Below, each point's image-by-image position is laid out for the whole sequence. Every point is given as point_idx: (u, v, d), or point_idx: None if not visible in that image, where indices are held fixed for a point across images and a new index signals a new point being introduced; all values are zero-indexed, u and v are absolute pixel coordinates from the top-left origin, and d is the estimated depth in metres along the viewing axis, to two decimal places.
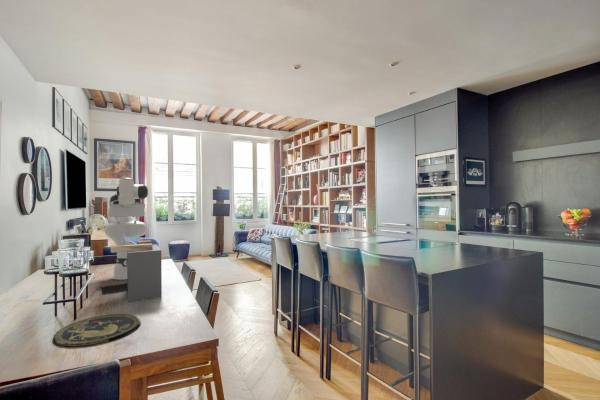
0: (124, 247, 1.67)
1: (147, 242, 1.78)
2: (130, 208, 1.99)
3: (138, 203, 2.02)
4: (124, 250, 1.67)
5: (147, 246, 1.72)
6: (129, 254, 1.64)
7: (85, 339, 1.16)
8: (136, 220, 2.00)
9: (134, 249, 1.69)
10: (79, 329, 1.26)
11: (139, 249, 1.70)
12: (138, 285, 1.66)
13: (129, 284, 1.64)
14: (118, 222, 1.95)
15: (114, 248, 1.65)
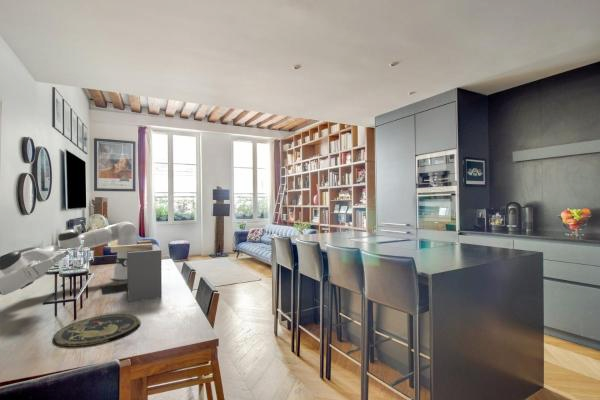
0: (124, 247, 1.67)
1: (147, 242, 1.78)
2: None
3: None
4: (124, 250, 1.67)
5: (147, 246, 1.72)
6: (129, 254, 1.64)
7: (85, 339, 1.16)
8: None
9: (134, 249, 1.69)
10: (79, 329, 1.26)
11: (139, 249, 1.70)
12: (138, 285, 1.66)
13: (129, 284, 1.64)
14: (61, 254, 1.52)
15: (114, 248, 1.65)
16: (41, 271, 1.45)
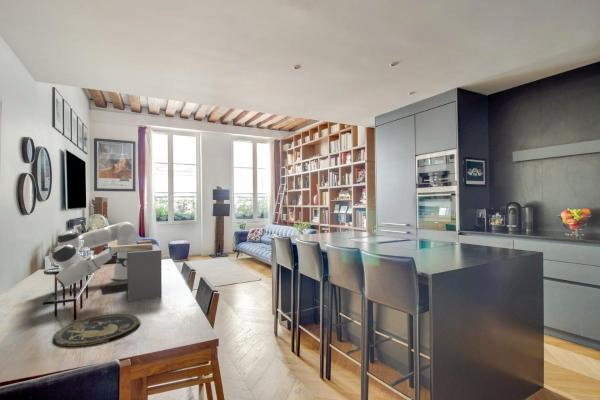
0: (124, 247, 1.67)
1: (147, 242, 1.78)
2: (98, 255, 1.64)
3: None
4: (124, 250, 1.67)
5: (147, 246, 1.72)
6: (129, 254, 1.64)
7: (85, 339, 1.16)
8: None
9: (134, 249, 1.69)
10: (79, 329, 1.26)
11: (139, 249, 1.70)
12: (138, 285, 1.66)
13: (129, 284, 1.64)
14: None
15: (114, 248, 1.65)
16: (100, 264, 1.55)
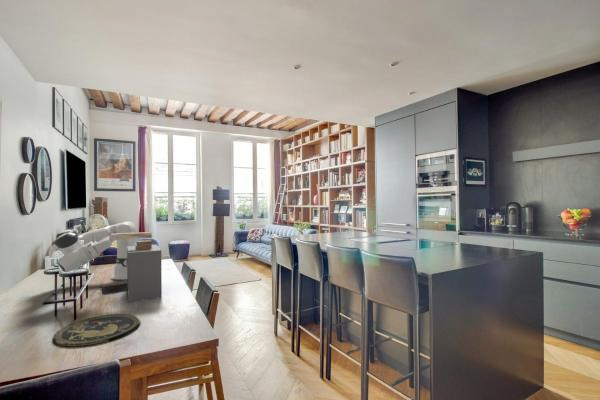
0: (124, 235, 1.72)
1: (147, 242, 1.78)
2: (99, 242, 1.69)
3: None
4: (124, 238, 1.72)
5: (146, 234, 1.77)
6: (129, 254, 1.64)
7: (85, 339, 1.16)
8: None
9: (134, 237, 1.74)
10: (78, 329, 1.26)
11: (138, 237, 1.75)
12: (138, 285, 1.66)
13: (129, 284, 1.64)
14: (116, 235, 1.69)
15: (114, 235, 1.69)
16: (101, 250, 1.60)
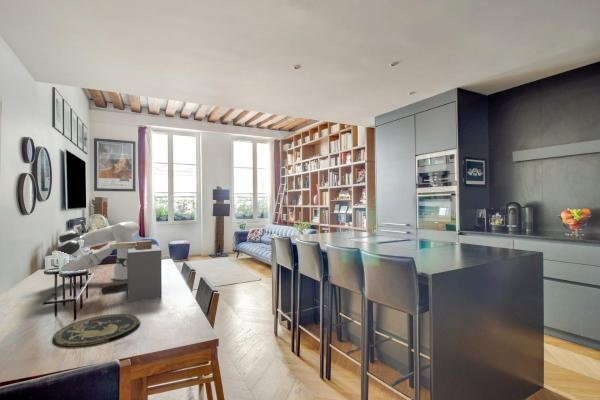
0: (124, 244, 1.79)
1: (147, 242, 1.78)
2: (100, 250, 1.77)
3: None
4: (124, 247, 1.79)
5: None
6: (129, 254, 1.64)
7: (85, 339, 1.16)
8: None
9: (133, 246, 1.81)
10: (78, 329, 1.26)
11: None
12: (138, 285, 1.66)
13: (129, 284, 1.64)
14: None
15: None
16: (101, 258, 1.67)
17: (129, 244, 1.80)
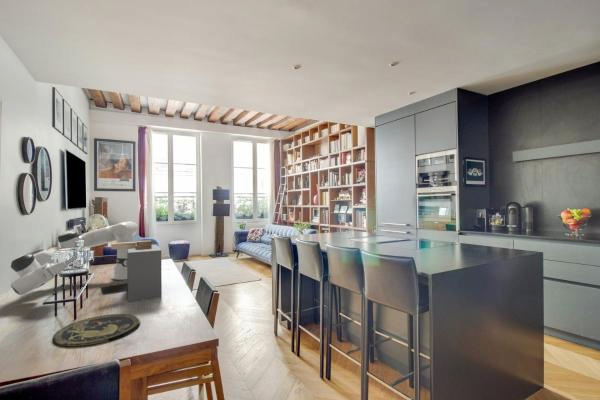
0: (124, 244, 1.79)
1: (147, 242, 1.78)
2: (56, 263, 1.67)
3: None
4: (124, 247, 1.79)
5: None
6: (129, 254, 1.64)
7: (85, 339, 1.16)
8: None
9: (133, 246, 1.81)
10: (78, 329, 1.26)
11: None
12: (138, 285, 1.66)
13: (129, 284, 1.64)
14: (72, 257, 1.65)
15: (114, 245, 1.77)
16: (55, 273, 1.57)
17: (129, 244, 1.80)
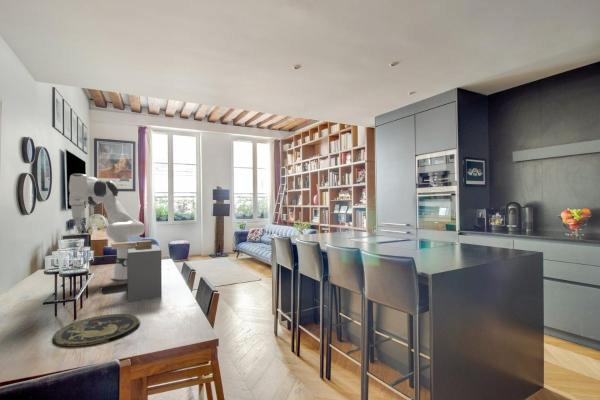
0: (124, 244, 1.79)
1: (147, 242, 1.78)
2: (82, 209, 1.79)
3: None
4: (124, 247, 1.79)
5: None
6: (129, 254, 1.64)
7: (85, 339, 1.16)
8: (81, 222, 1.82)
9: (133, 246, 1.81)
10: (78, 329, 1.26)
11: None
12: (138, 285, 1.66)
13: (129, 284, 1.64)
14: (79, 224, 1.73)
15: (114, 245, 1.77)
16: (73, 208, 1.68)
17: (129, 244, 1.80)
